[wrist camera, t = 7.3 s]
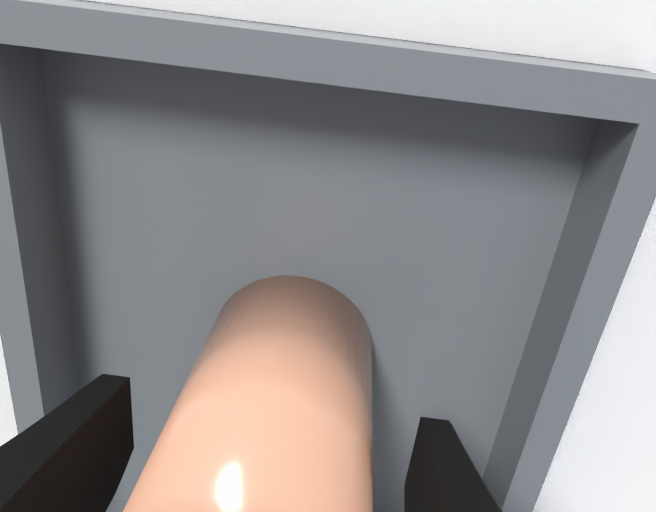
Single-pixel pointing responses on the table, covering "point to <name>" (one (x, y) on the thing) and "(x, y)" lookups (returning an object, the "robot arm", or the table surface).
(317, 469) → the peach cylinder
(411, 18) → the table surface
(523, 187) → the tray
